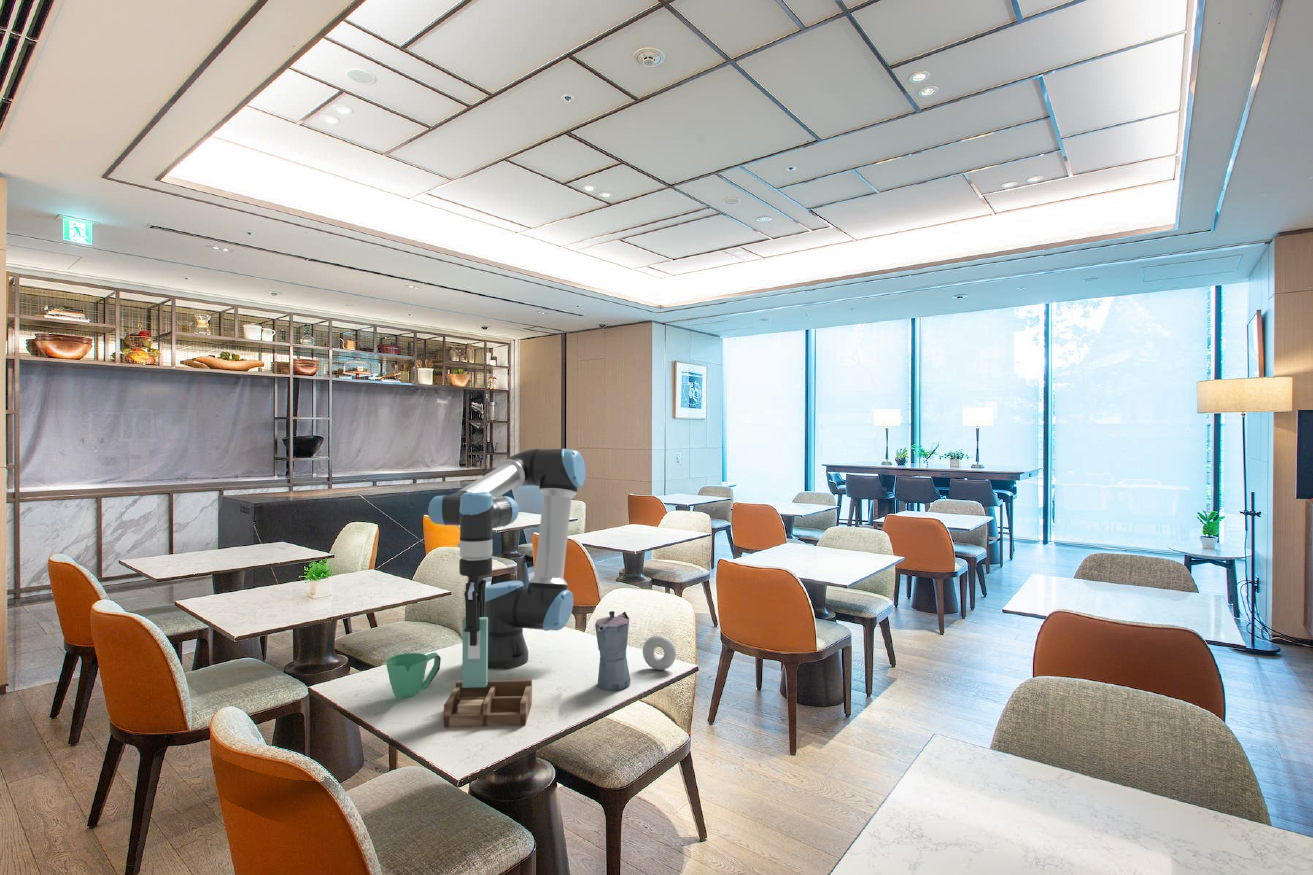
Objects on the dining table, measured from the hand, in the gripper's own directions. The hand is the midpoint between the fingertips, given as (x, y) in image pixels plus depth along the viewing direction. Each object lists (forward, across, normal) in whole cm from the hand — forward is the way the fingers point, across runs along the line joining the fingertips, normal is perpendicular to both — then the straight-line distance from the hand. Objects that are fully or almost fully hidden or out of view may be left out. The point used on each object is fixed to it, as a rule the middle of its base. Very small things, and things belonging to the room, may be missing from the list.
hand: (475, 656), depth 152 cm
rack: (+14, +3, +4) cm, 15 cm away
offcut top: (+11, +6, 0) cm, 12 cm away
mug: (+15, -14, -18) cm, 27 cm away
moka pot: (+15, -19, +33) cm, 41 cm away
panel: (+7, 0, 0) cm, 7 cm away
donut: (+15, -30, +46) cm, 57 cm away
